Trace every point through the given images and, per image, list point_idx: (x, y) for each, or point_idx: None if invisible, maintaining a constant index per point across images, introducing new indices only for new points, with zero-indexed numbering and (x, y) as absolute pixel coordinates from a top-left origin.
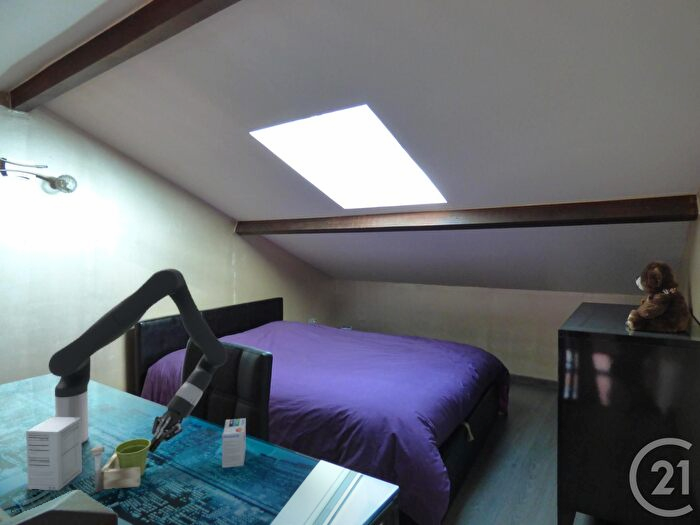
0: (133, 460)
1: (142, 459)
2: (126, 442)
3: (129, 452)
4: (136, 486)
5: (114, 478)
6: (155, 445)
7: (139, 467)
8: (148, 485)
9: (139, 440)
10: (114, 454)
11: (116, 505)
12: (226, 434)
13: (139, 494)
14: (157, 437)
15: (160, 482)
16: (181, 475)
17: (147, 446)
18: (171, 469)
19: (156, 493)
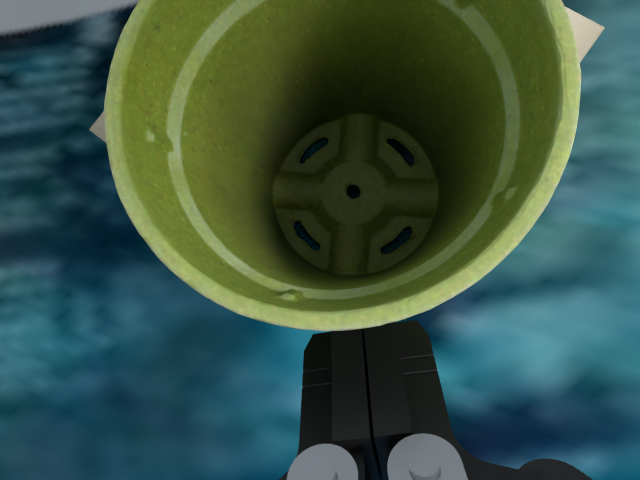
0: (201, 102)
1: (215, 202)
2: (551, 57)
3: (486, 146)
4: None
5: None
6: (305, 396)
7: None
8: (128, 230)
9: (494, 228)
10: (575, 22)
11: (78, 27)
12: None
13: (77, 154)
14: (316, 464)
15: (98, 305)
16: (62, 461)
17: (155, 232)
18: (201, 447)
19: (4, 237)
